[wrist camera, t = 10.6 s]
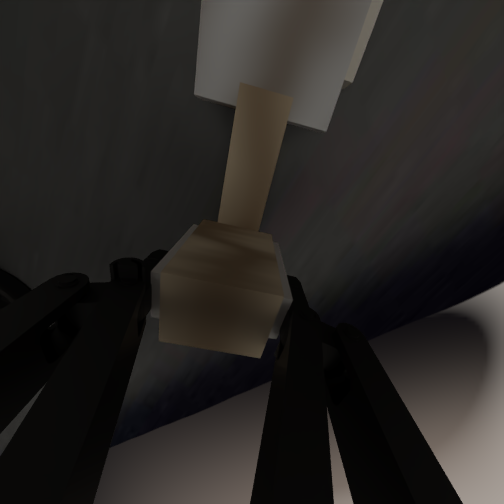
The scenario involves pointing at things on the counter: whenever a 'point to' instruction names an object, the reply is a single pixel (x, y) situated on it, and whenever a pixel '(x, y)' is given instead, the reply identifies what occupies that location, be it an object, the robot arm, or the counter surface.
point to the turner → (253, 158)
